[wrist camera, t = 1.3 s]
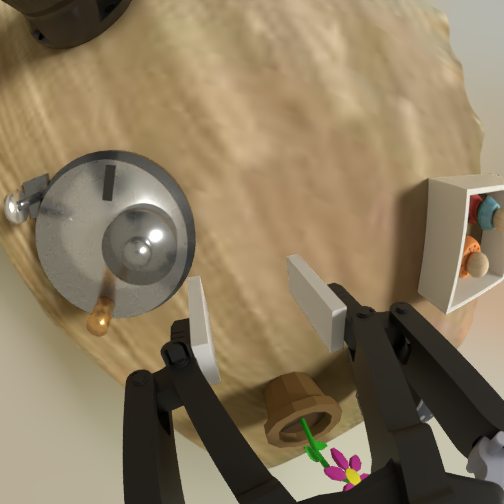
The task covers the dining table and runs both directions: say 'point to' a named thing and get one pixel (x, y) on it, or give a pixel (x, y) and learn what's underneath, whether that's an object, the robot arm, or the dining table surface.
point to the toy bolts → (488, 219)
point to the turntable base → (163, 177)
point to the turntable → (90, 239)
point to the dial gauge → (25, 200)
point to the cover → (140, 244)
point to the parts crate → (458, 241)
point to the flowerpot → (306, 423)
